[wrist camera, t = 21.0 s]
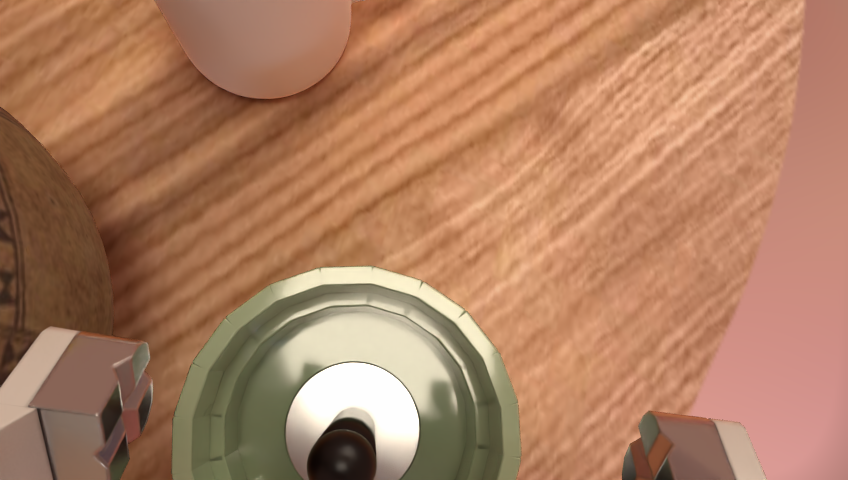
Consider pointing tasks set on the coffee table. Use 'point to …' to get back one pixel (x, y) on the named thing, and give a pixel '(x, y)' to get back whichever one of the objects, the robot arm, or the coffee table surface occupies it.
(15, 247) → the vase
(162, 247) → the coffee table surface
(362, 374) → the meat pounder
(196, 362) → the bowl
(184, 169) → the coffee table surface
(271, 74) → the cup
